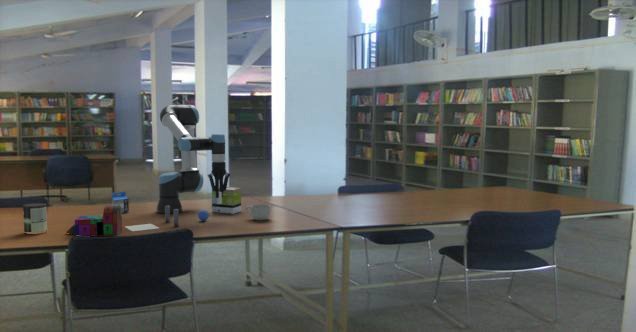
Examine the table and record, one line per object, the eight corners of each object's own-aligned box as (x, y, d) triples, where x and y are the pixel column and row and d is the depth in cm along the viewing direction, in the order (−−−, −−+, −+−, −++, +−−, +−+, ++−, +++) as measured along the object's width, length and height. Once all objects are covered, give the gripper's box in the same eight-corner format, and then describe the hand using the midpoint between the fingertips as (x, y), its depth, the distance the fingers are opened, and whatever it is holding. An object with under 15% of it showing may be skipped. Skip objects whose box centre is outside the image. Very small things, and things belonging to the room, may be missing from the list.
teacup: (273, 218, 312) (273, 204, 311) (265, 222, 302) (265, 207, 301) (251, 217, 317) (250, 203, 316) (242, 220, 306) (242, 206, 306)
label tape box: (114, 214, 324) (113, 193, 323) (111, 213, 327) (111, 192, 326) (129, 212, 330) (128, 192, 329) (126, 211, 333) (125, 191, 332)
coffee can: (20, 235, 267) (18, 206, 266) (29, 230, 277) (28, 202, 276) (42, 234, 268) (41, 206, 267) (50, 230, 278) (49, 202, 277)
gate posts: (164, 222, 300) (164, 205, 299) (169, 221, 302) (168, 205, 301) (174, 227, 287) (174, 209, 286) (179, 226, 289) (179, 209, 288)
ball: (196, 220, 305) (196, 209, 305) (206, 219, 309) (206, 208, 308) (200, 222, 300) (200, 211, 300) (210, 221, 304) (210, 210, 303)
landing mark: (124, 226, 287) (124, 226, 287) (150, 224, 295) (150, 223, 295) (132, 231, 276) (132, 231, 276) (159, 228, 284) (159, 228, 284)
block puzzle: (124, 228, 284) (123, 201, 283) (117, 235, 267) (116, 206, 266) (73, 230, 280) (72, 202, 279) (62, 237, 264) (61, 208, 262)
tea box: (211, 212, 331) (211, 188, 330) (220, 209, 341) (220, 186, 339) (233, 214, 326) (232, 189, 324) (241, 211, 335) (241, 187, 334)
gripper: (210, 162, 300) (211, 205, 302) (232, 161, 308) (233, 203, 310) (204, 161, 307) (205, 203, 308) (226, 160, 314) (227, 201, 316)
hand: (219, 203), depth 309 cm, fingers closed
